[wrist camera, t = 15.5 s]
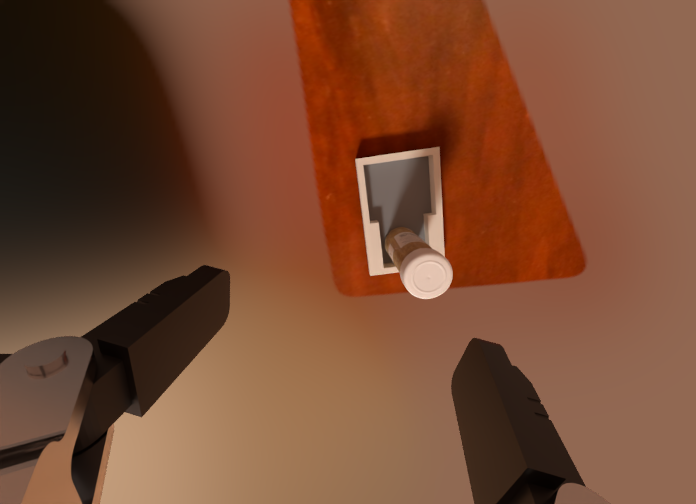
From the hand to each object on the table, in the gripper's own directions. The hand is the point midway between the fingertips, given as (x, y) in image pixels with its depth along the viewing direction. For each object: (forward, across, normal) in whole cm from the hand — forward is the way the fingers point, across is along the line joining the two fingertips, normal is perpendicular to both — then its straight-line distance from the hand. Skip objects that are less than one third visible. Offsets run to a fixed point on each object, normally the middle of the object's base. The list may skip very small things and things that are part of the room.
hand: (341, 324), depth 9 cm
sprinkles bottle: (+29, -4, +8) cm, 30 cm away
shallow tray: (+30, -3, +4) cm, 30 cm away
